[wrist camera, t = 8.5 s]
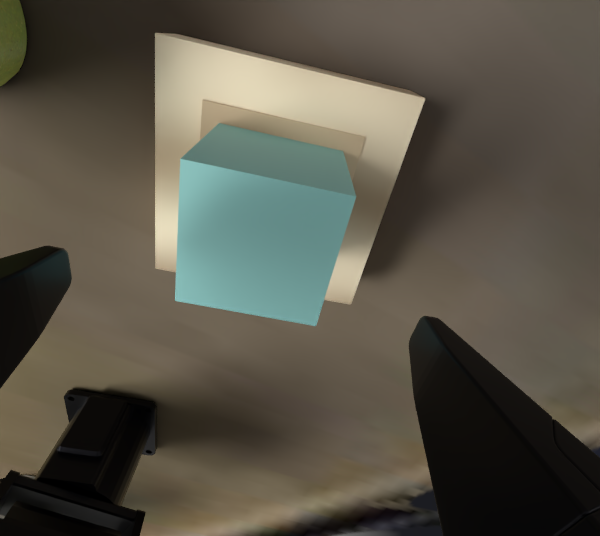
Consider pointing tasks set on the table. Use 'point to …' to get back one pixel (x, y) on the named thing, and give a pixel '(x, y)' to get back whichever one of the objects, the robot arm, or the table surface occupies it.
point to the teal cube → (260, 223)
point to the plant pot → (11, 39)
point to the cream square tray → (279, 131)
